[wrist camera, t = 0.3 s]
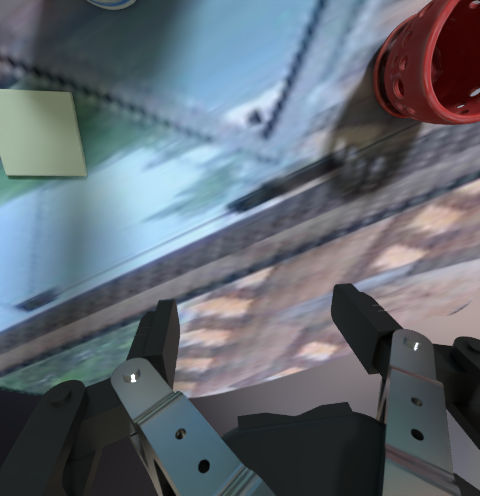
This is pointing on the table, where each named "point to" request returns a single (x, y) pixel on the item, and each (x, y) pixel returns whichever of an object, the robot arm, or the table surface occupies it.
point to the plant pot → (432, 65)
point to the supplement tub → (112, 3)
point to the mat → (40, 134)
